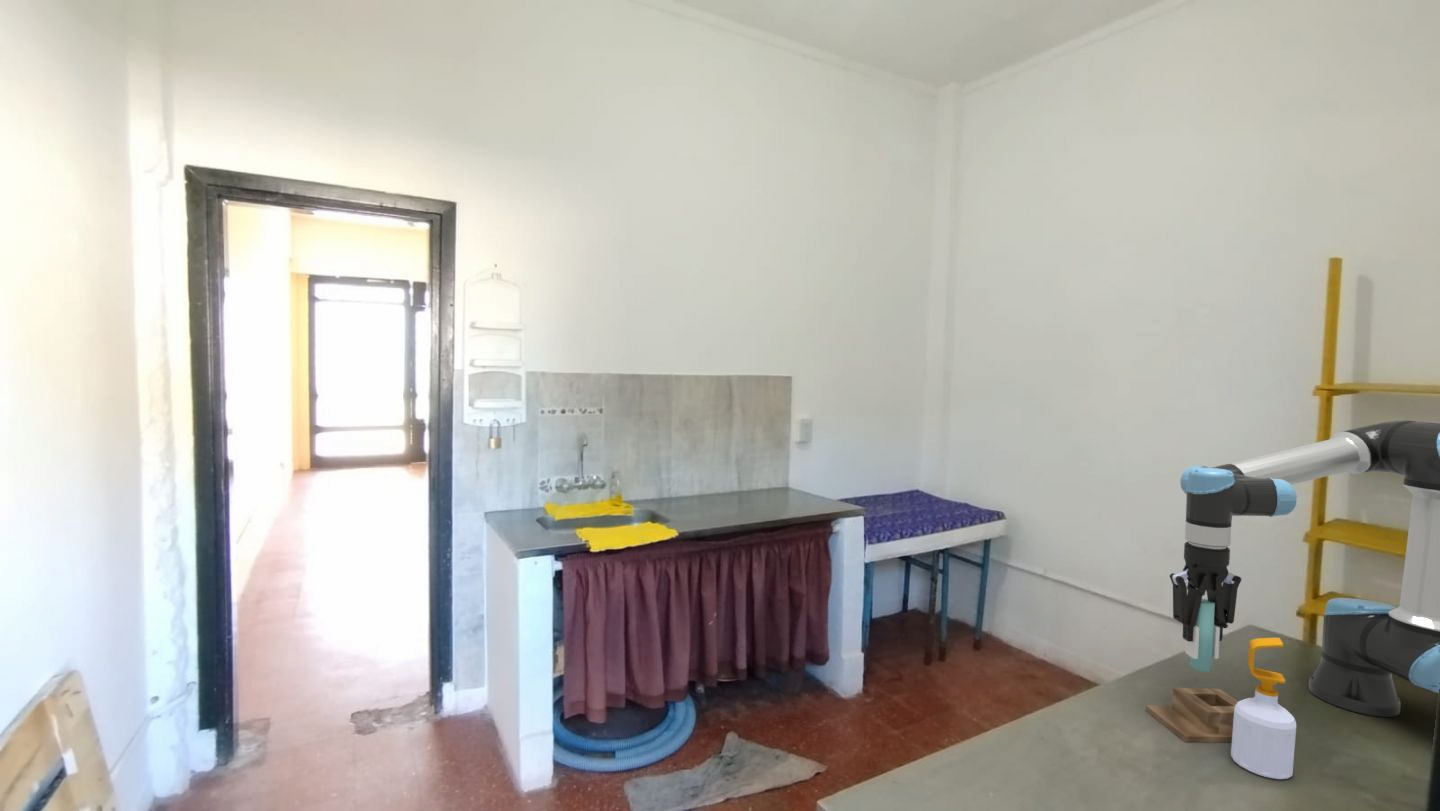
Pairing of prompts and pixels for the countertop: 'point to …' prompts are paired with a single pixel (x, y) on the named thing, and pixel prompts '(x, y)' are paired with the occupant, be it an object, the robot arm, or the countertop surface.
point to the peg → (1204, 636)
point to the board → (1184, 726)
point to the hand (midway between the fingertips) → (1201, 655)
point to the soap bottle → (1264, 724)
